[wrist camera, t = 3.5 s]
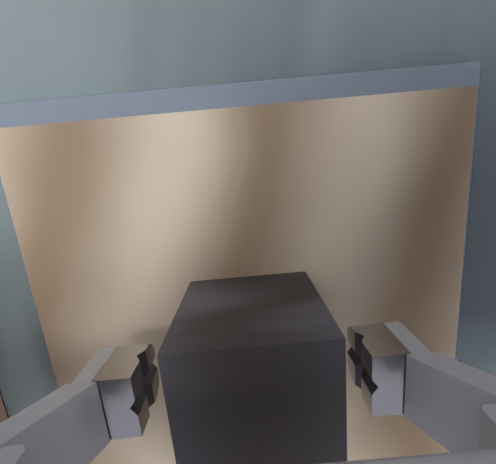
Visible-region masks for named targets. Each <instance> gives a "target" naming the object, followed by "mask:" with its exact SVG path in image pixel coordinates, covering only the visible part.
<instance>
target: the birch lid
mask: <svg viewBox="0 0 496 464" xmlns="http://www.w3.org/2000/svg"><path fill="white" fill-rule="evenodd" d="M477 86H478V85H477ZM477 86H466V87H455V88H444V89H432V90H421V91H410V92H399V93H387V94H376V95H365V96H354V97H343V98H331V99H320V100H309V101H298V102H286V103H275V104H264V105H253V106H241V107H230V108H219V109H208V110H196V111H185V112H174V113H163V114H152V115H140V116H129V117H118V118H107V119H95V120H84V121H73V122H62V123H50V124H39V125H28V126H17V127H5V128H0V176H1V180H2V184H3V187H4V191H5V195H6V198H7V202H8V206H9V209H10V213H11V217H12V220H13V224H14V228H15V231H16V235H17V239H18V242H19V246H20V250H21V253H22V257H23V261H24V264H25V268H26V272H27V275H28V279H29V283H30V286H31V290H32V294H33V297H34V301H35V305H36V308H37V312H38V316H39V319H40V323H41V327H42V330H43V334H44V338H45V341H46V345H47V349H48V352H49V356H50V360H51V363H52V367H53V371H54V374H55V378H56V382H57V385H58V389H59V388H60V387H62V386H64V385H65V384H71V383H72V382H73V381H74V380H75V378H76V377H77V376H78V375H79V373H80V372H81V371H82V370H83V368H84V367H85V366H86V365H87V363H88V362H89V361H90V360H91V358H92V357H93V356H94V355H95V353H96V352H97V351H98V350H99V349H100V348H102V347H106V346H116V345H118V346H120V345H132V344H148V343H151V344H152V345H153V346H154V350H155V355H156V356H155V358H154V360H153V364H154V365H155V366H156V367H157V368H158V372H159V389H158V395H157V398H156V401H155V403H154V404H152V405H151V406H150V407H149V412H150V417H149V419H148V422H147V425H146V427H145V430H144V433H143V435H142V436H141V437H133V438H125V439H116V440H110V443H109V444H108V445H107V446H106V447H105V448H104V449H103V450H102V451H101V452H100V453H99V454H98V455H97V456H96V457H95V458H94V459H93V461H92V462H91V463H90V464H321V463H332V462H344V461H356V460H367V459H379V458H391V457H402V456H414V455H426V454H438V453H447V449H446V448H444V447H443V446H442V445H440V444H439V443H438V442H437V441H435V440H434V439H433V438H431V437H430V436H429V435H427V434H426V433H425V432H424V431H422V430H421V429H420V428H418V427H417V426H416V425H414V424H413V423H412V422H411V421H409V420H408V419H407V418H405V417H404V415H389V416H371V414H370V412H369V410H368V408H367V406H366V405H365V403H364V401H363V399H362V397H361V388H359V387H358V386H356V385H355V383H354V381H353V379H352V377H351V374H350V371H349V366H348V359H347V351H348V350H349V349H350V347H351V345H350V343H349V341H348V340H347V330H348V327H350V326H358V325H367V324H376V323H384V322H392V321H398V322H401V323H402V324H403V325H404V326H405V327H406V328H407V329H408V330H409V331H410V332H411V333H412V334H413V335H414V336H415V337H416V338H417V339H418V340H419V341H420V342H421V343H422V344H423V345H424V346H425V347H426V348H427V349H429V350H430V351H431V352H438V353H441V354H443V355H446V356H448V357H451V358H453V359H455V350H456V338H457V326H458V314H459V302H460V290H461V278H462V266H463V254H464V242H465V230H466V218H467V206H468V194H469V182H470V170H471V158H472V146H473V134H474V122H475V110H476V98H477Z"/></svg>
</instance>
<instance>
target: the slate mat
mask: <svg viewBox="0 0 496 464" xmlns="http://www.w3.org/2000/svg"><path fill="white" fill-rule="evenodd" d="M480 70H481V61H472V62H461V63H450V64H439V65H428V66H416V67H405V68H394V69H383V70H371V71H360V72H349V73H338V74H327V75H315V76H304V77H293V78H282V79H270V80H259V81H248V82H237V83H226V84H214V85H203V86H192V87H181V88H169V89H158V90H147V91H136V92H125V93H113V94H102V95H91V96H80V97H68V98H57V99H46V100H35V101H24V102H12V103H1V104H0V128H5V127H17V126H28V125H39V124H50V123H62V122H73V121H84V120H95V119H107V118H118V117H129V116H140V115H152V114H163V113H174V112H185V111H196V110H208V109H219V108H230V107H241V106H253V105H264V104H275V103H286V102H298V101H309V100H320V99H331V98H343V97H354V96H365V95H376V94H387V93H399V92H410V91H421V90H432V89H444V88H455V87H466V86H477V85H478V86H477V98H476V110H475V122H474V134H473V146H472V158H471V170H470V182H469V194H468V206H467V218H466V230H465V242H464V254H463V266H462V278H461V290H460V302H459V314H458V326H457V338H456V350H455V359H456V355H457V343H458V331H459V319H460V307H461V295H462V284H463V272H464V260H465V248H466V236H467V224H468V213H469V201H470V189H471V177H472V165H473V153H474V141H475V130H476V118H477V106H478V94H479V82H480ZM0 178H1V176H0ZM1 182H2V180H1ZM2 186H3V184H2ZM3 189H4V187H3ZM4 193H5V191H4ZM5 197H6V195H5ZM6 200H7V198H6ZM7 204H8V202H7ZM8 208H9V206H8ZM9 211H10V209H9ZM10 215H11V213H10ZM11 219H12V217H11ZM12 222H13V220H12ZM13 226H14V224H13ZM14 230H15V228H14ZM15 233H16V231H15ZM16 237H17V235H16ZM17 241H18V239H17ZM18 244H19V242H18ZM19 248H20V246H19ZM20 252H21V250H20ZM21 255H22V253H21ZM22 259H23V257H22ZM23 262H24V261H23ZM24 266H25V264H24ZM25 270H26V268H25ZM26 273H27V272H26ZM27 277H28V275H27ZM28 281H29V279H28ZM29 284H30V283H29ZM30 288H31V286H30ZM31 292H32V290H31ZM32 295H33V294H32ZM33 299H34V297H33ZM34 303H35V301H34ZM35 306H36V305H35ZM36 310H37V308H36ZM37 314H38V312H37ZM38 317H39V316H38ZM39 321H40V319H39ZM40 325H41V323H40ZM41 328H42V327H41ZM42 332H43V330H42ZM43 336H44V334H43ZM44 339H45V338H44ZM45 343H46V341H45ZM46 347H47V345H46ZM47 350H48V349H47ZM48 354H49V352H48ZM49 358H50V356H49ZM50 361H51V360H50ZM51 365H52V363H51ZM52 369H53V367H52ZM53 372H54V371H53ZM54 376H55V374H54ZM55 380H56V378H55ZM56 383H57V382H56ZM57 387H58V385H57ZM447 453H448V450H447Z"/></svg>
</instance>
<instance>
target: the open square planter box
mask: <svg viewBox="0 0 496 464" xmlns="http://www.w3.org/2000/svg"><path fill="white" fill-rule="evenodd" d="M6 419H8V416H7V413H6V410H5V407H4V404H3V401H2V398H1V395H0V423H1V422H3V421H5V420H6Z"/></svg>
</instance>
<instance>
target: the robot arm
mask: <svg viewBox="0 0 496 464" xmlns="http://www.w3.org/2000/svg"><path fill="white" fill-rule="evenodd" d="M347 340H348V341H349V343H350V345H351V347H350V349H349V350H348V351H347V359H348V366H349V371H350V374H351V377H352V379H353V381H354V383H355V385H356V386H358V387H359V388H361V397H362V399H363V401H364V403H365V405H366V406H367V408H368V410H369V412H370V414H371V416H389V415H404V417H405V418H407V419H408V420H409V421H411V422H412V423H413V424H414V425H416V426H417V427H418V428H420V429H421V430H422V431H424V432H425V433H426V434H427V435H429V436H430V437H431V438H433V439H434V440H435V441H437V442H438V443H439V444H440V445H442V446H443V447H444V448H446V449H447V450H448V451H450V452H449V453H438V454H426V455H414V456H402V457H391V458H379V459H367V460H356V461H344V462H332V463H321V464H496V376H495V375H493V374H490V373H488V372H485V371H483V370H480V369H478V368H476V367H473V366H471V365H468V364H466V363H463V362H461V361H458V360H456V359H453V358H451V357H448V356H446V355H443V354H441V353H438V352H431V351H430V350H429V349H427V348H426V347H425V346H424V345H423V344H422V343H421V342H420V341H419V340H418V339H417V338H416V337H415V336H414V335H413V334H412V333H411V332H410V331H409V330H408V329H407V328H406V327H405V326H404V325H403V324H402V323H401V322H398V321H392V322H384V323H376V324H367V325H358V326H350V327H348V330H347ZM155 356H156V355H155V350H154V346H153V345H152V344H151V343H148V344H132V345H120V346H118V345H116V346H106V347H102V348H100V349H99V350H98V351H97V352H96V353H95V355H94V356H93V357H92V358H91V360H90V361H89V362H88V363H87V365H86V366H85V367H84V368H83V370H82V371H81V372H80V373H79V375H78V376H77V377H76V378H75V380H74V381H73V382H72V383H71V384H65V385H64V386H62V387H60V388H59V389H57V390H55V391H53V392H52V393H50V394H48V395H47V396H45V397H43V398H42V399H40V400H38V401H37V402H35V403H33V404H32V405H30V406H28V407H27V408H25V409H23V410H22V411H20V412H18V413H17V414H15V415H13V416H12V417H10V418H8V419H6V420H5V421H3V422H1V423H0V464H90V463H91V462H92V461H93V459H94V458H95V457H96V456H97V455H98V454H99V453H100V452H101V451H102V450H103V449H104V448H105V447H106V446H107V445H108V444H109V443H110V440H116V439H125V438H133V437H141V436H142V435H143V433H144V430H145V427H146V425H147V422H148V419H149V417H150V412H149V407H150V406H151V405H152V404H154V403H155V401H156V398H157V395H158V389H159V372H158V368H157V367H156V366H155V365H154V364H153V360H154V358H155Z"/></svg>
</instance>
